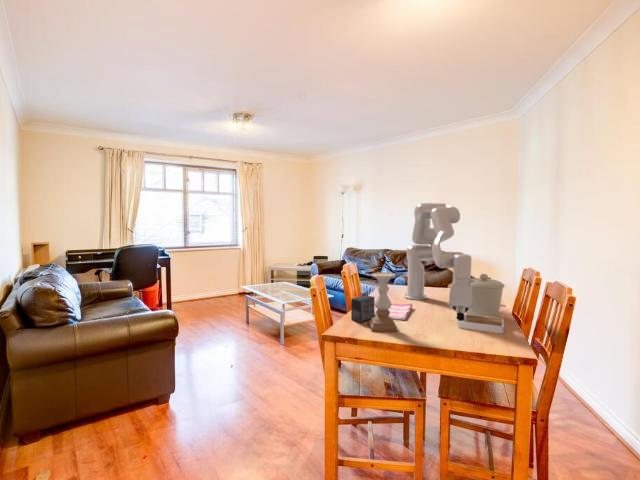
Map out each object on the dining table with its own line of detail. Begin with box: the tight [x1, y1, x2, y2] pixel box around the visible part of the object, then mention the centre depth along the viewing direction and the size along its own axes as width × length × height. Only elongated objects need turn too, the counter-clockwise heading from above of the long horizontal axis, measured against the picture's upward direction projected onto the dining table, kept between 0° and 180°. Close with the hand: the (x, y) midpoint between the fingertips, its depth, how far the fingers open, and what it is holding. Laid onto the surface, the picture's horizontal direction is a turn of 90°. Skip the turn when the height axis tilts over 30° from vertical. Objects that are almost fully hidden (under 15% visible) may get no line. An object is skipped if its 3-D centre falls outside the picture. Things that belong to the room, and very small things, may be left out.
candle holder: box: [368, 271, 398, 333], centre depth 155 cm, size 11×11×24 cm
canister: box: [467, 273, 506, 317], centre depth 171 cm, size 18×18×21 cm
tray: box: [457, 313, 505, 335], centre depth 157 cm, size 13×18×3 cm
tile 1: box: [465, 312, 484, 324], centre depth 158 cm, size 7×7×4 cm
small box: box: [350, 294, 375, 324], centre depth 168 cm, size 11×6×10 cm, turn 134°
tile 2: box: [484, 316, 503, 326], centre depth 155 cm, size 7×7×4 cm
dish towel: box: [374, 302, 413, 321], centre depth 179 cm, size 17×23×4 cm
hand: (460, 321), depth 161 cm, fingers closed
